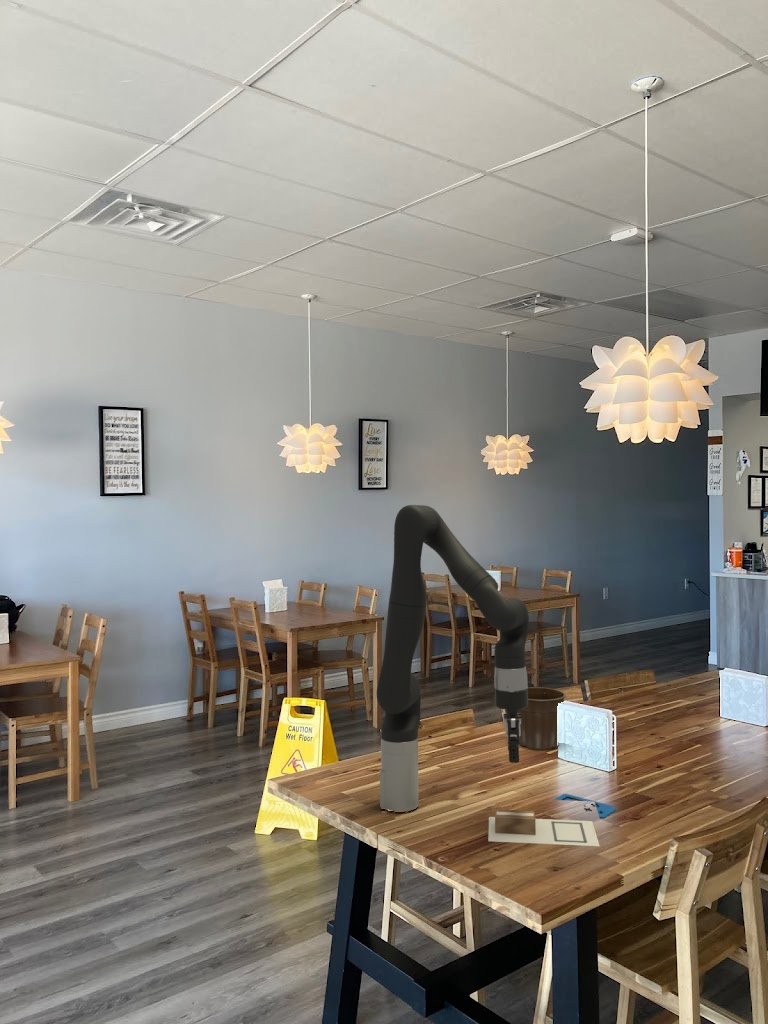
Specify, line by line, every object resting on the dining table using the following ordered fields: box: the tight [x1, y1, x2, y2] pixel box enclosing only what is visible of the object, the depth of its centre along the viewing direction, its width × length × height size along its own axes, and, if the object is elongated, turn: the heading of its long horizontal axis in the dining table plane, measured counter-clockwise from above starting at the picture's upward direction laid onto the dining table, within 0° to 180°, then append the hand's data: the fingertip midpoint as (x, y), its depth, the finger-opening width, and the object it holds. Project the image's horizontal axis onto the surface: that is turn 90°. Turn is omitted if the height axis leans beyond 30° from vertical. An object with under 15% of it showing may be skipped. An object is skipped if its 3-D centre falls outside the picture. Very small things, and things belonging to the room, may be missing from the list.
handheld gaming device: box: [552, 793, 616, 820], centre depth 201 cm, size 8×1×15 cm
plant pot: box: [517, 686, 566, 751], centre depth 253 cm, size 16×16×16 cm
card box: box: [494, 809, 536, 835], centre depth 186 cm, size 9×5×4 cm, turn 82°
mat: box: [487, 816, 600, 847], centre depth 185 cm, size 24×14×1 cm, turn 82°
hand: (513, 756), depth 187 cm, fingers open, 8 cm apart
